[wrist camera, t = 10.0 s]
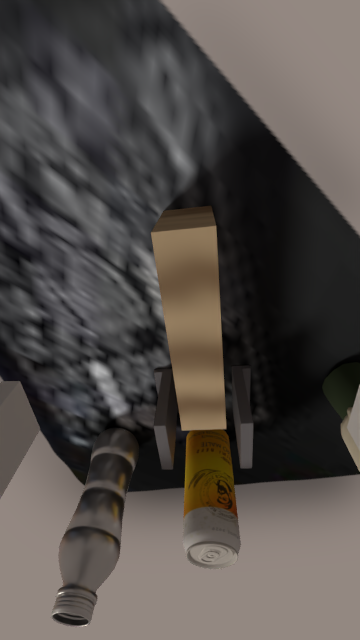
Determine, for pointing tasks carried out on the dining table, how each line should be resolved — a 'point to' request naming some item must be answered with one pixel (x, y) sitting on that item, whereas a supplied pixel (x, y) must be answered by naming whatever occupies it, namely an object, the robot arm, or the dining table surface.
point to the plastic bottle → (95, 527)
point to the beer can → (210, 501)
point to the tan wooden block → (192, 313)
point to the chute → (168, 408)
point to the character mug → (344, 399)
